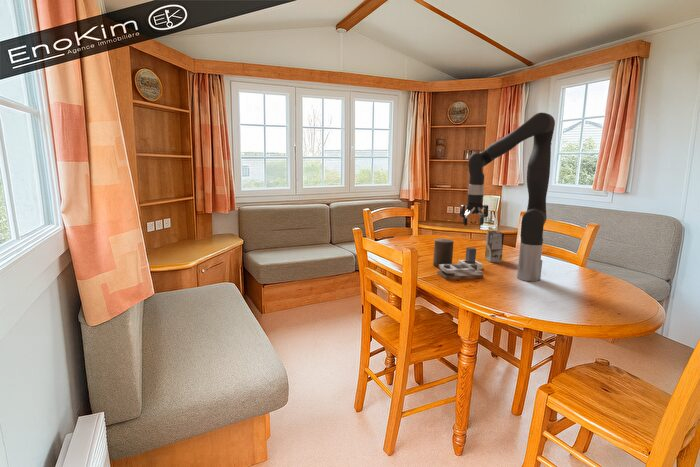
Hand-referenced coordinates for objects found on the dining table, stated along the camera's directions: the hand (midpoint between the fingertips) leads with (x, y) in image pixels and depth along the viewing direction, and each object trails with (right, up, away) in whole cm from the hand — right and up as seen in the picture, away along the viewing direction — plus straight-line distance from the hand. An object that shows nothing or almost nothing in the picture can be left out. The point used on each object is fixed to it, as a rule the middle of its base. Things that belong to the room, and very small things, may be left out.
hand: (473, 225), depth 190 cm
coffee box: (+17, -19, +17) cm, 31 cm away
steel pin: (0, -22, +5) cm, 22 cm away
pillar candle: (-14, -21, +6) cm, 26 cm away
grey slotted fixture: (-10, -25, -10) cm, 28 cm away
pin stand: (0, -22, +5) cm, 22 cm away
